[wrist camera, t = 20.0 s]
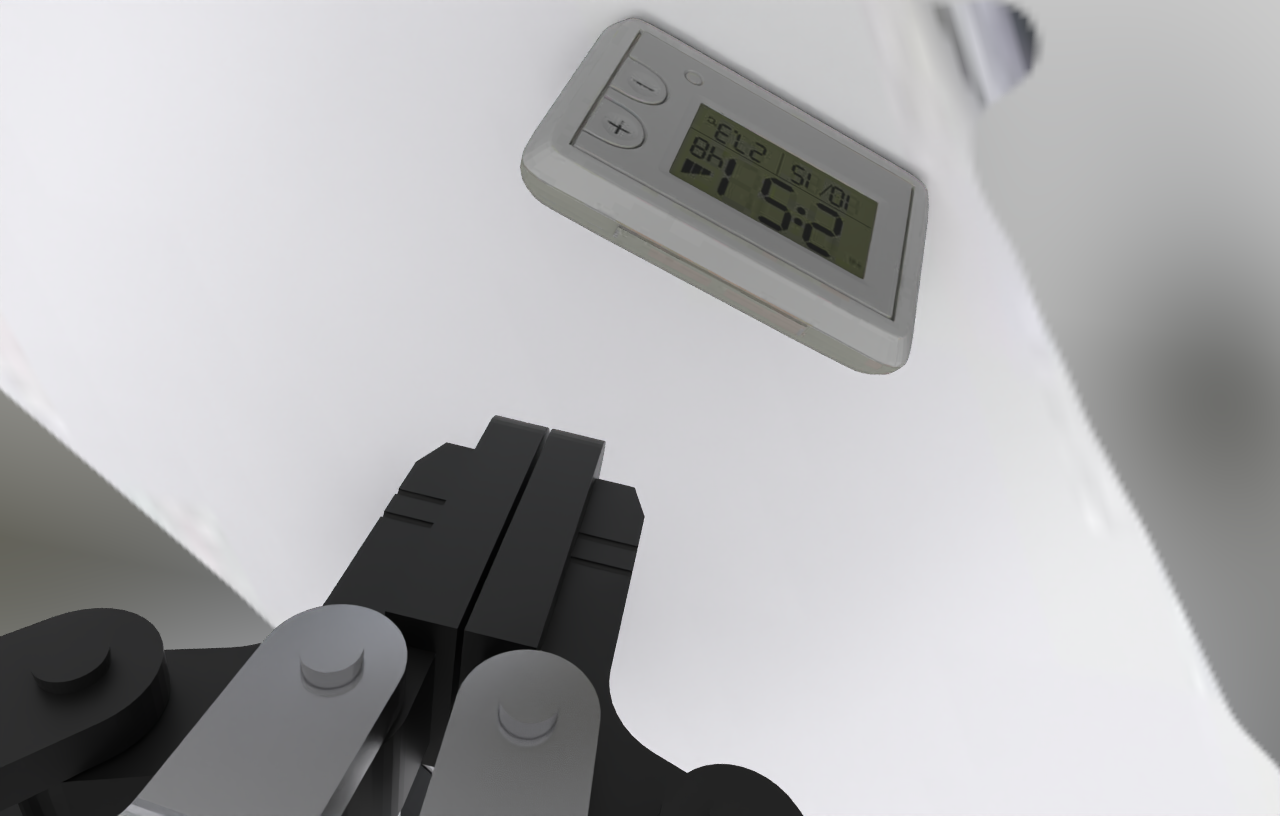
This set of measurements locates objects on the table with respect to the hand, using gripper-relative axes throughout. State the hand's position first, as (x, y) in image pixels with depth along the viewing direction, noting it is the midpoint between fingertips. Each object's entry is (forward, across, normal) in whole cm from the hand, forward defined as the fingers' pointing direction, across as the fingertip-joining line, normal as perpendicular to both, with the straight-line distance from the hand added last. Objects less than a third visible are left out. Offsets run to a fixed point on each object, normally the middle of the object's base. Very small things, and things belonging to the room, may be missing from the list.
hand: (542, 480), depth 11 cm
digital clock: (+29, -3, +3) cm, 30 cm away
